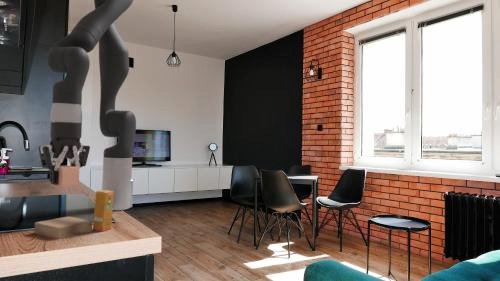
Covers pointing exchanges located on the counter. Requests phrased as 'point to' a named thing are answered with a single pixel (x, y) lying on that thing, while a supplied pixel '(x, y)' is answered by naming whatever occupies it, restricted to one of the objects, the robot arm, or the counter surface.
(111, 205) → the supplement box
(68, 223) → the tan flat block
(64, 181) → the terracotta block
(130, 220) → the counter surface
